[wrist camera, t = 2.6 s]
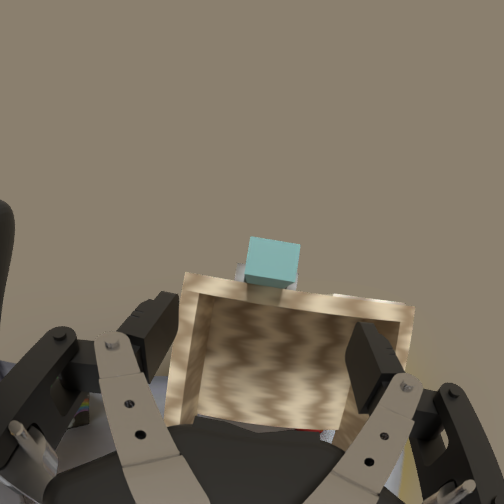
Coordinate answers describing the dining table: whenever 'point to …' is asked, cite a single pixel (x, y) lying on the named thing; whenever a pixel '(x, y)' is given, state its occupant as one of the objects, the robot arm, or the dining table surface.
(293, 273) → the bar
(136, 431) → the robot arm
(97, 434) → the dining table surface
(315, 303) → the wooden stand
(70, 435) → the dining table surface
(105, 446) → the dining table surface
